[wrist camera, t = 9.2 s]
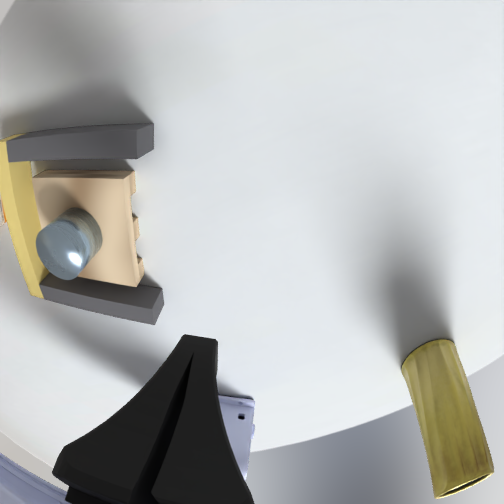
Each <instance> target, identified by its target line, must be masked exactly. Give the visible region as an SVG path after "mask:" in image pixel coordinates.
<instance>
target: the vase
mask: <svg viewBox="0 0 504 504" xmlns="http://www.w3.org/2000/svg"><path fill="white" fill-rule="evenodd" d="M402 375H403V377H404V378H405V381H406V383H407V386H408V389H409V392H410V396H411V399H412V402H413V405H414V408H415V411H416V415H417V419H418V422H419V426H420V430H421V434H422V438H423V442H424V446H425V449H426V454H427V459H428V463H429V468H430V473H431V478H432V485H433V491H434V497H435V499H438V498H443V497H446V496H449V495H452V494H455V493H457V492H460V491H462V490H465V489H467V488H469V487H471V486H473V485H475V484H477V483H479V482H481V481H483V480H484V479H486V478H488V477H489V476H490V475H492V474H493V473H494V466H493V462H492V458H491V454H490V450H489V447H488V444H487V441H486V437H485V434H484V431H483V428H482V425H481V422H480V419H479V416H478V412H477V409H476V406H475V403H474V400H473V397H472V393H471V390H470V387H469V384H468V381H467V377H466V374H465V372H464V369H463V366H462V364H461V361H460V359H459V356H458V353H457V349H456V346H455V344H454V343H453V342H452V341H450V340H446V339H439V340H434V341H431V342H428V343H426V344H424V345H422V346H420V347H418V348H417V349H415V350H414V351H413V352H412V353H411V354H410V355H409V356H408V357H407V358H406V360H405V361H404V363H403V365H402Z"/></svg>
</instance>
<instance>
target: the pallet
mask: <svg viewBox="0 0 504 504" xmlns="http://www.w3.org/2000/svg"><path fill="white" fill-rule="evenodd" d="M32 183H33V189H34V195H35V200H36V206H37V211H38V215H39V220H40V224H41V229H43V228H44V227H46V226H47V225H48V224H49V223H50V222H52V221H53V220H54V219H55V218H57V217H58V216H59V215H61V214H62V213H63V212H64V211H66V210H67V209H69V208H73V207H76V208H81V209H83V210H85V211H87V212H88V213H90V214H91V215H92V216H93V217H94V219H95V220H96V221H97V223H98V225H99V227H100V229H101V232H102V238H103V241H102V246H101V248H100V250H99V251H98V253H97V254H96V255H95V256H94V257H93V258H92V259H91V261H90V262H89V263H88V264H87V265H86V266H85V267H84V269H83V270H82V271H81V272H80V273H79V275H78V277H83V278H88V279H94V280H99V281H104V282H110V283H115V284H121V285H127V286H132V287H137V285H138V284H139V282H140V280H141V279H142V277H143V275H144V268H143V260H142V258H137V254H136V246H135V241H136V240H137V238H138V237H139V236H140V234H139V224H138V218H137V217H132V209H131V197H130V196H131V195H132V194H133V193H135V192H136V185H135V171H118V170H45V171H43V172H41V173H40V174H38V175H36V176H34V177H32Z"/></svg>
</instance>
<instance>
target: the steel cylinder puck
mask: <svg viewBox="0 0 504 504" xmlns="http://www.w3.org/2000/svg"><path fill="white" fill-rule="evenodd" d="M102 241H103V238H102V232H101V229H100V227H99V225H98V223H97V221H96V220H95V219H94V217H93V216H92V215H91V214H90V213H88V212H87V211H85V210H83V209H81V208H76V207H73V208H69V209H67V210H66V211H64V212H63V213H62V214H61V215H59V216H58V217H57V218H55V219H54V220H53V221H52V222H50V223H49V224H48V225H47V226H46V227H44V228H43V229H42V230H41V231H40V232H39V233H38V235H37V238H36V249H37V253H38V256H39V258H40V260H41V262H42V263H43V265H44V266H45V267H46V268H47V269H48V270H49V271H50V272H51V273H52V274H53V275H55V276H56V277H58V278H61V279H64V280H72V279H74V278H76V277H77V276H78V275H79V273H80V272H81V271H82V270H83V269H84V267H85V266H86V265H87V264H88V263H89V262H90V261H91V259H92V258H93V257H94V256H95V255H96V254H97V253H98V251H99V250H100V248H101V246H102Z"/></svg>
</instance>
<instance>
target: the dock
mask: <svg viewBox="0 0 504 504" xmlns="http://www.w3.org/2000/svg"><path fill="white" fill-rule="evenodd" d="M153 149H154V124H116V125H97V126H83V127H72V128H62V129H53V130H45V131H37V132H30V133H23V134H17V135H12V136H10V137H7V138H5V139H2V140H0V193H1V198H2V203H3V207H4V212H5V216H6V220H7V224H8V227H9V231H10V235H11V238H12V242H13V245H14V248H15V252H16V255H17V258H18V261H19V264H20V267H21V270H22V273H23V276H24V278H25V281H26V284H27V286H28V289H29V292H30V294H31V295H32V296H36V297H39V298H42V299H46V300H50V301H53V302H57V303H60V304H64V305H68V306H72V307H76V308H80V309H84V310H88V311H92V312H96V313H100V314H104V315H109V316H113V317H118V318H122V319H127V320H132V321H137V322H142V323H147V324H152V325H155V323H156V321H157V319H158V317H159V314H160V312H161V310H162V308H163V306H164V300H163V291H162V289H161V288H155V287H149V286H143V285H137V287H132V286H127V285H121V284H115V283H110V282H104V281H99V280H94V279H88V278H83V277H78V276H77V277H76V278H74V279H72V280H64V279H61V278H58V277H56V276H55V275H53V274H52V273H51V272H50V271H49V270H48V269H47V268H46V267H45V266H44V265H43V263H42V262H41V260H40V258H39V256H38V253H37V249H36V238H37V235H38V233H39V232H40V231H41V230H42V229H41V224H40V220H39V215H38V211H37V206H36V200H35V195H34V189H33V183H32V172H31V164H30V161H39V160H61V159H138V158H140V157H141V156H143V155H145V154H146V153H148V152H150V151H151V150H153Z"/></svg>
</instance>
